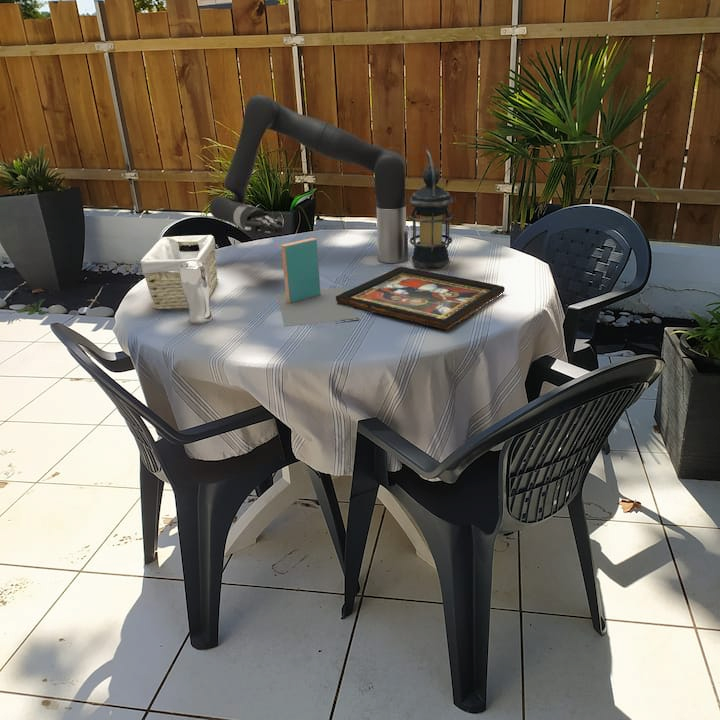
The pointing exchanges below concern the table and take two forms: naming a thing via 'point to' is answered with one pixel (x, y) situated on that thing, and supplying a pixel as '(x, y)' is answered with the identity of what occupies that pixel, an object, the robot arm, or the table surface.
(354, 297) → the religious icon
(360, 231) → the table surface
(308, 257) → the tile
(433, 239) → the lantern
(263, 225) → the robot arm
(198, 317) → the beer glass
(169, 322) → the table surface
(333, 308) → the mat
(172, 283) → the storage basket
